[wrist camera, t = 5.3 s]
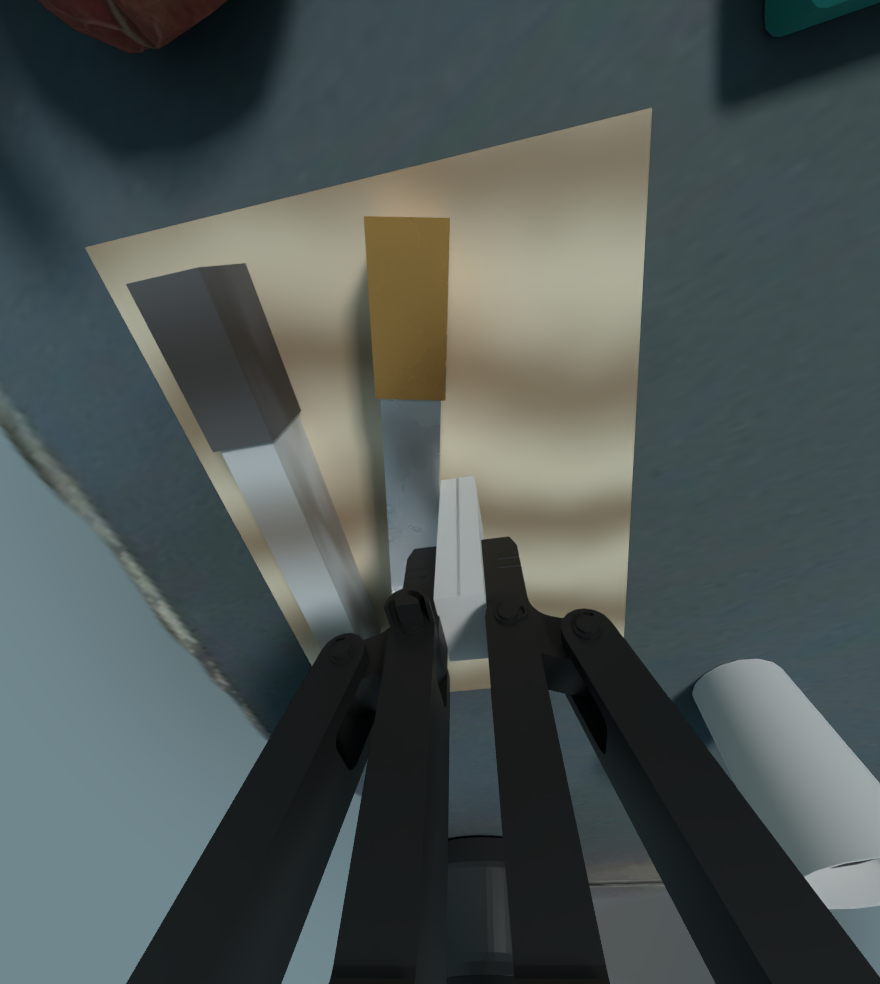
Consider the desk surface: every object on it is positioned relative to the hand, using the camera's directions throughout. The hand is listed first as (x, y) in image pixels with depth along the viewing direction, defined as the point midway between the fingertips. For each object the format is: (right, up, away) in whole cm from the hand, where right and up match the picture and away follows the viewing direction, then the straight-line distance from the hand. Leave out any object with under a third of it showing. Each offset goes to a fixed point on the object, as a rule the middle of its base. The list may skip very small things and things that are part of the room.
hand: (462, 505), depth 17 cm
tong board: (-1, 0, +4) cm, 4 cm away
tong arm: (-2, -1, +2) cm, 3 cm away
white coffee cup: (+19, -12, +10) cm, 25 cm away
